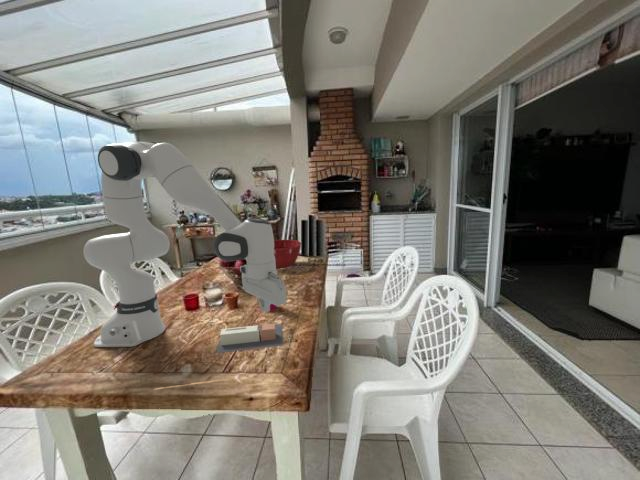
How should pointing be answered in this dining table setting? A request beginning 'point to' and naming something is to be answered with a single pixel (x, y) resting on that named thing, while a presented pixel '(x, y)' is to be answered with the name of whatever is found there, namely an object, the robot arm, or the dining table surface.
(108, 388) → the dining table surface
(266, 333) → the stub
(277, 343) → the slate mat
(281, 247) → the mixing bowl
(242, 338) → the pale green slotted block
